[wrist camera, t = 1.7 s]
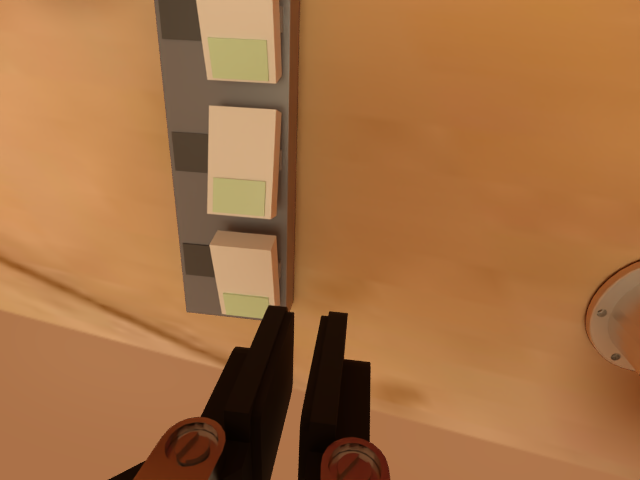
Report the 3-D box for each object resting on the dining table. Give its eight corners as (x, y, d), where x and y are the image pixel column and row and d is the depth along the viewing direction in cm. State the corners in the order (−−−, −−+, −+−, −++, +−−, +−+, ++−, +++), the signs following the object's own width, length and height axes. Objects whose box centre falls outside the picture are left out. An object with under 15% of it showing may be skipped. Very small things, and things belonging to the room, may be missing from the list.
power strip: (304, -215, 27) (291, -265, 23) (293, 300, 44) (284, 327, 39) (159, -214, 28) (121, -262, 24) (201, 291, 45) (183, 316, 40)
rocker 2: (276, 235, 34) (270, 252, 32) (280, 303, 39) (275, 321, 37) (217, 230, 34) (208, 246, 33) (228, 298, 39) (221, 315, 38)
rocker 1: (276, -58, 26) (269, -57, 24) (281, 75, 31) (275, 84, 29) (199, -60, 26) (186, -59, 24) (216, 72, 31) (206, 80, 29)
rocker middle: (281, 112, 32) (275, 109, 30) (276, 215, 33) (270, 219, 31) (218, 108, 32) (208, 105, 30) (216, 210, 34) (206, 213, 32)
